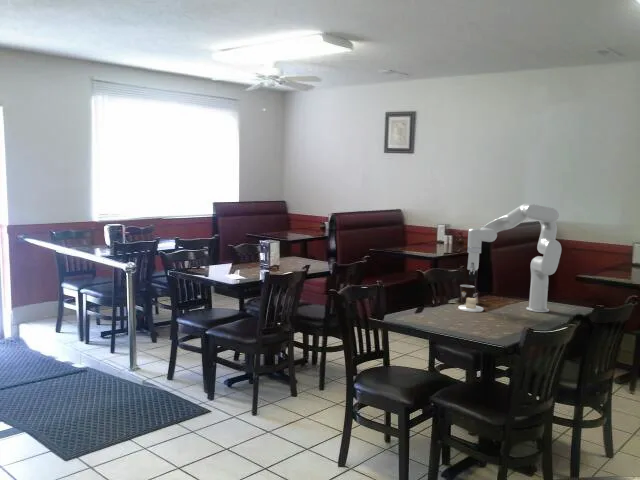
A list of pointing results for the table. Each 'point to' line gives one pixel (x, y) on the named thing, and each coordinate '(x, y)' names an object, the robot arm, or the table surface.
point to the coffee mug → (467, 292)
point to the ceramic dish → (463, 308)
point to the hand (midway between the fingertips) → (473, 279)
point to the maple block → (471, 303)
